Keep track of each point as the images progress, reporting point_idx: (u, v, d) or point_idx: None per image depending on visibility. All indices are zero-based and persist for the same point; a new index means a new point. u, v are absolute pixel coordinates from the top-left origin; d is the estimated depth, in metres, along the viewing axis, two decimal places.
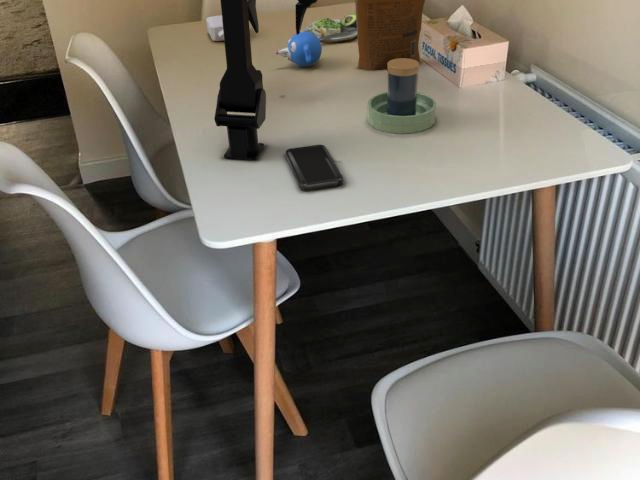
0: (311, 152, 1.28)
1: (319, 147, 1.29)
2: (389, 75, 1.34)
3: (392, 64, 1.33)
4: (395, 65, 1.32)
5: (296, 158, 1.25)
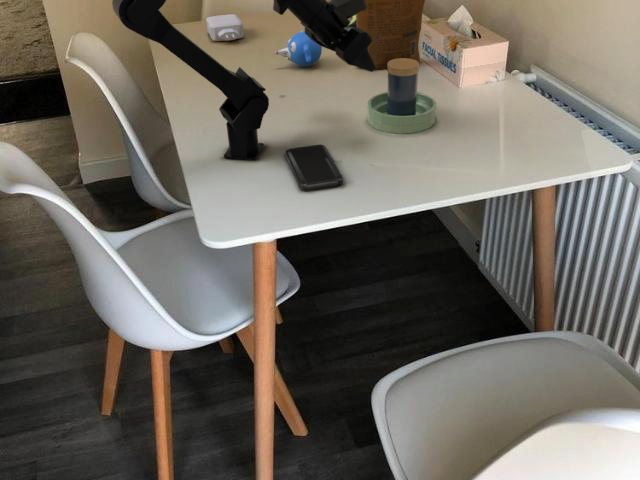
0: (311, 152, 1.28)
1: (319, 147, 1.29)
2: (389, 75, 1.34)
3: (392, 64, 1.33)
4: (395, 65, 1.32)
5: (296, 158, 1.25)
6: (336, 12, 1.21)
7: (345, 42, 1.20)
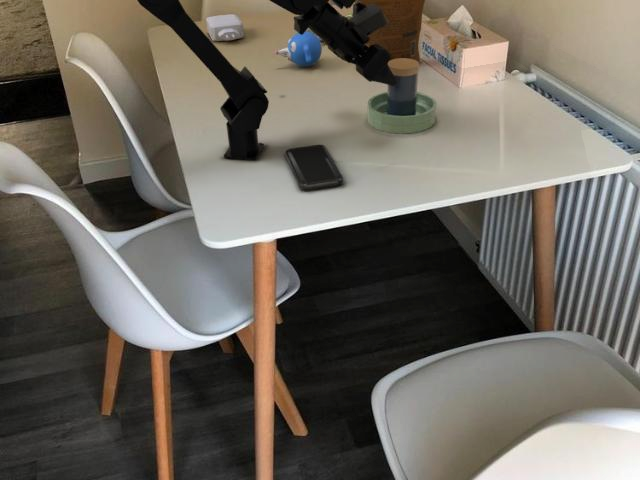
0: (311, 152, 1.28)
1: (319, 147, 1.29)
2: None
3: (392, 64, 1.33)
4: (395, 65, 1.32)
5: (296, 158, 1.25)
6: (356, 29, 1.23)
7: (365, 59, 1.22)
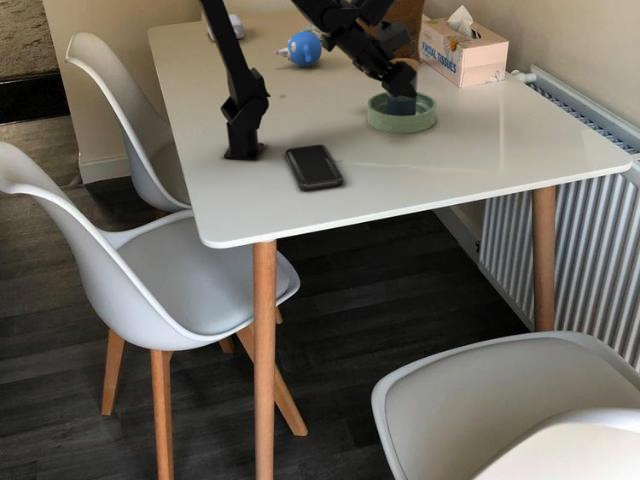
0: (311, 152, 1.28)
1: (319, 147, 1.29)
2: None
3: None
4: None
5: (296, 158, 1.25)
6: (382, 47, 1.27)
7: (391, 76, 1.26)
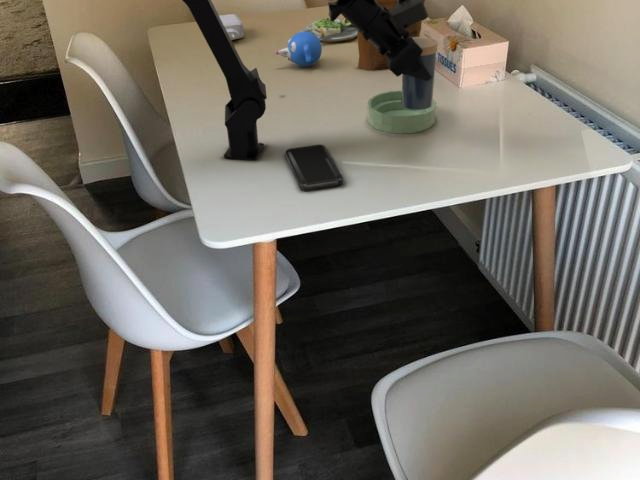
0: (311, 152, 1.28)
1: (319, 147, 1.29)
2: None
3: None
4: None
5: (296, 158, 1.25)
6: (392, 20, 1.17)
7: (395, 52, 1.16)
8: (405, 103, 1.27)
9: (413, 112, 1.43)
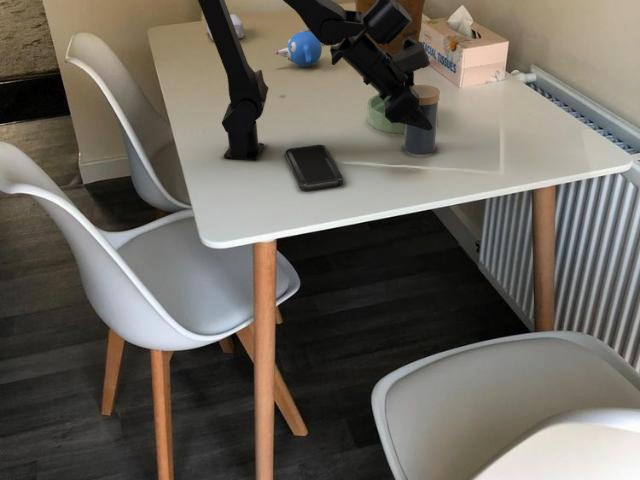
0: (311, 152, 1.28)
1: (319, 147, 1.29)
2: None
3: None
4: None
5: (296, 158, 1.25)
6: (392, 67, 1.18)
7: (391, 100, 1.16)
8: (406, 149, 1.28)
9: None
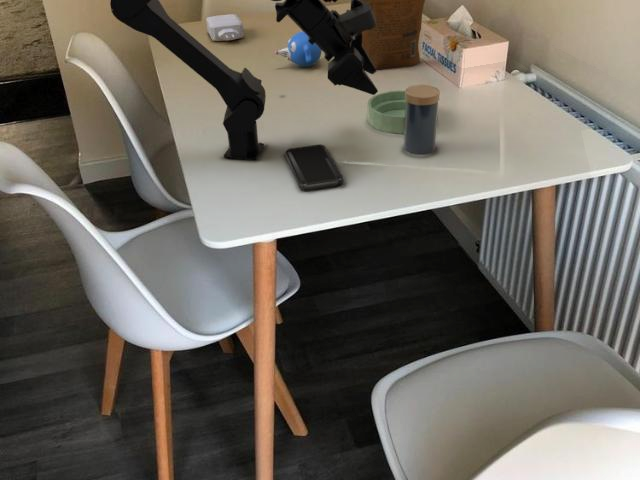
0: (311, 152, 1.28)
1: (319, 147, 1.29)
2: None
3: (409, 90, 1.23)
4: (412, 91, 1.22)
5: (296, 158, 1.25)
6: (337, 27, 1.15)
7: (334, 61, 1.14)
8: (406, 149, 1.28)
9: None
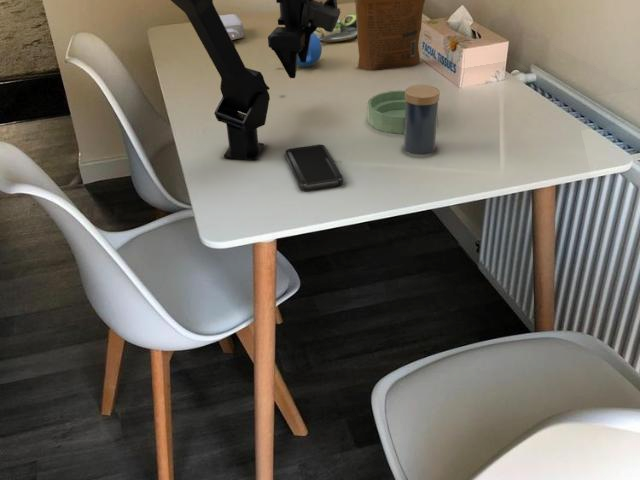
0: (311, 152, 1.28)
1: (319, 147, 1.29)
2: None
3: (409, 90, 1.23)
4: (412, 91, 1.22)
5: (296, 158, 1.25)
6: (304, 7, 1.24)
7: (282, 29, 1.23)
8: (406, 149, 1.28)
9: None
